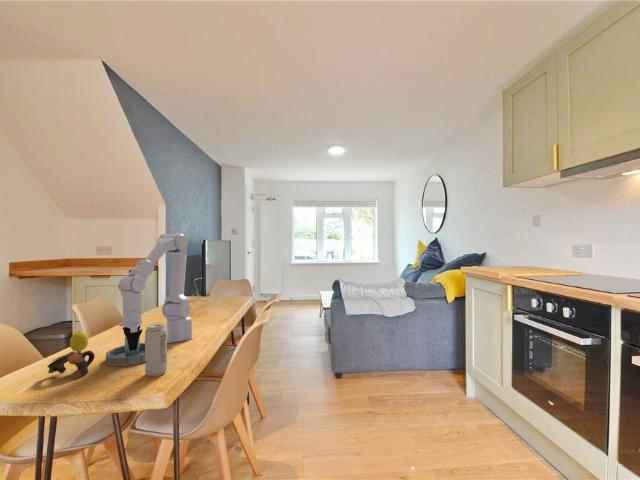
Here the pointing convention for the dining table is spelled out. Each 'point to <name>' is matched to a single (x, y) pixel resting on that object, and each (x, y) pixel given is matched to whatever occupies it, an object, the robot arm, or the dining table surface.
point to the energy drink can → (155, 350)
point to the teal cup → (134, 352)
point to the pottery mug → (73, 359)
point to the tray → (124, 357)
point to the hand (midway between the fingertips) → (132, 348)
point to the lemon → (79, 341)
